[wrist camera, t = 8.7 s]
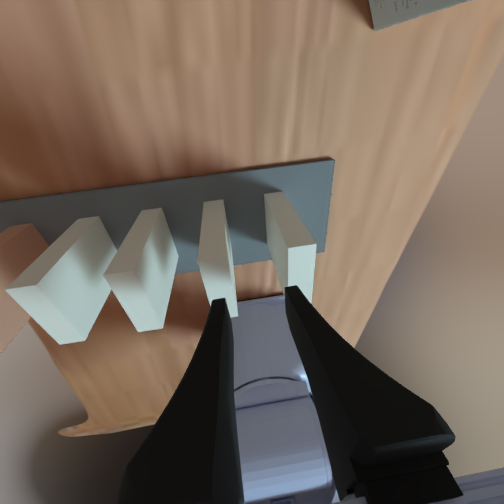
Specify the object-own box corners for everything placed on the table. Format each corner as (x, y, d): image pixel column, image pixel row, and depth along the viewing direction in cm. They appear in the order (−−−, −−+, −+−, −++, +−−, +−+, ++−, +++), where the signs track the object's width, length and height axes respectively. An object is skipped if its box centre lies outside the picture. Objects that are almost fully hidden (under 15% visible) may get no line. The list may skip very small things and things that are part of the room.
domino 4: (282, 191, 19) (316, 244, 13) (283, 241, 22) (311, 304, 16) (263, 193, 19) (288, 248, 13) (267, 243, 22) (287, 308, 16)
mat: (332, 158, 19) (334, 159, 18) (322, 249, 24) (324, 251, 24) (-19, 203, 17) (-23, 206, 17) (52, 289, 23) (50, 292, 22)
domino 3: (223, 199, 19) (226, 257, 13) (231, 248, 22) (238, 316, 16) (203, 201, 19) (197, 261, 13) (214, 251, 22) (214, 320, 15)
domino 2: (161, 207, 19) (133, 270, 12) (178, 256, 22) (163, 328, 15) (141, 210, 19) (102, 275, 12) (161, 258, 22) (138, 332, 15)
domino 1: (98, 216, 19) (36, 284, 12) (124, 264, 22) (85, 340, 15) (78, 218, 19) (4, 289, 12) (106, 266, 21) (59, 344, 15)
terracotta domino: (31, 222, 18) (-70, 297, 12) (67, 271, 21) (2, 352, 15) (10, 226, 18) (-103, 303, 12) (49, 273, 21) (-24, 356, 15)
